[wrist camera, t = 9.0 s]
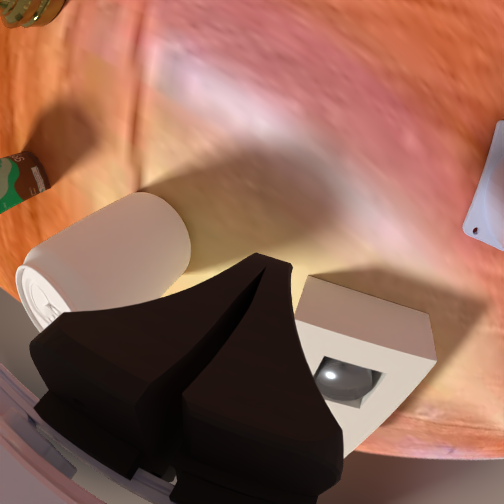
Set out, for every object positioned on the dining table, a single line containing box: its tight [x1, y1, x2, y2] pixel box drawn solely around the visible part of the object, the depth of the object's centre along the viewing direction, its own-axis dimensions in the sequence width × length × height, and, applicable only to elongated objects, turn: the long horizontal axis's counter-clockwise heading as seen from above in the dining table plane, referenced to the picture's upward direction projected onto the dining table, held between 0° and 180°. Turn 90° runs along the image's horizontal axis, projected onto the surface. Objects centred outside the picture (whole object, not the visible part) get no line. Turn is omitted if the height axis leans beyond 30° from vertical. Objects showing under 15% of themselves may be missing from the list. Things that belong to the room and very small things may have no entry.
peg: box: [316, 356, 373, 401], centre depth 21 cm, size 4×4×4 cm
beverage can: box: [16, 192, 191, 333], centre depth 20 cm, size 8×8×12 cm
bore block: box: [294, 276, 437, 457], centre depth 24 cm, size 10×18×5 cm, turn 170°
